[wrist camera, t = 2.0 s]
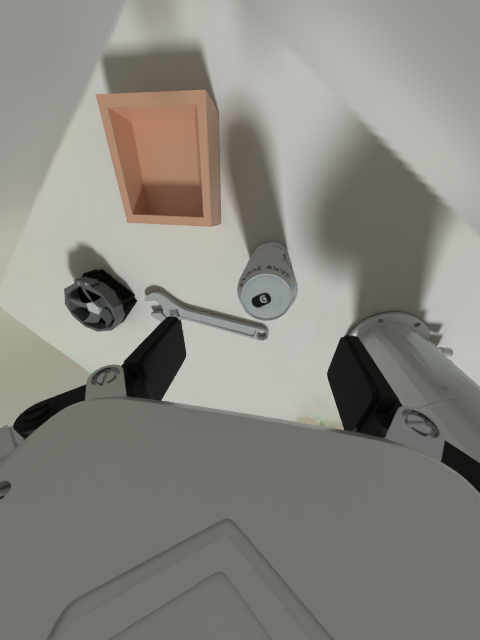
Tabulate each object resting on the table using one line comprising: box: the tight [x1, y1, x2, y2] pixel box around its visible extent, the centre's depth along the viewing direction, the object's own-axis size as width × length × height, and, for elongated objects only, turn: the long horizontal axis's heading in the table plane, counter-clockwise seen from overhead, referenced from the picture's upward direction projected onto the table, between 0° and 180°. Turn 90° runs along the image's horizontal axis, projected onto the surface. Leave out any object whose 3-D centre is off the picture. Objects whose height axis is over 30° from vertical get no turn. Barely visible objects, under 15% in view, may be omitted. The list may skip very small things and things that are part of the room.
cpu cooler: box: [64, 269, 137, 331], centre depth 37 cm, size 10×6×10 cm
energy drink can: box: [237, 242, 297, 321], centre depth 24 cm, size 6×6×15 cm
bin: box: [96, 89, 221, 227], centre depth 24 cm, size 12×12×5 cm
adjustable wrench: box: [145, 291, 269, 341], centre depth 38 cm, size 25×6×2 cm, turn 73°
